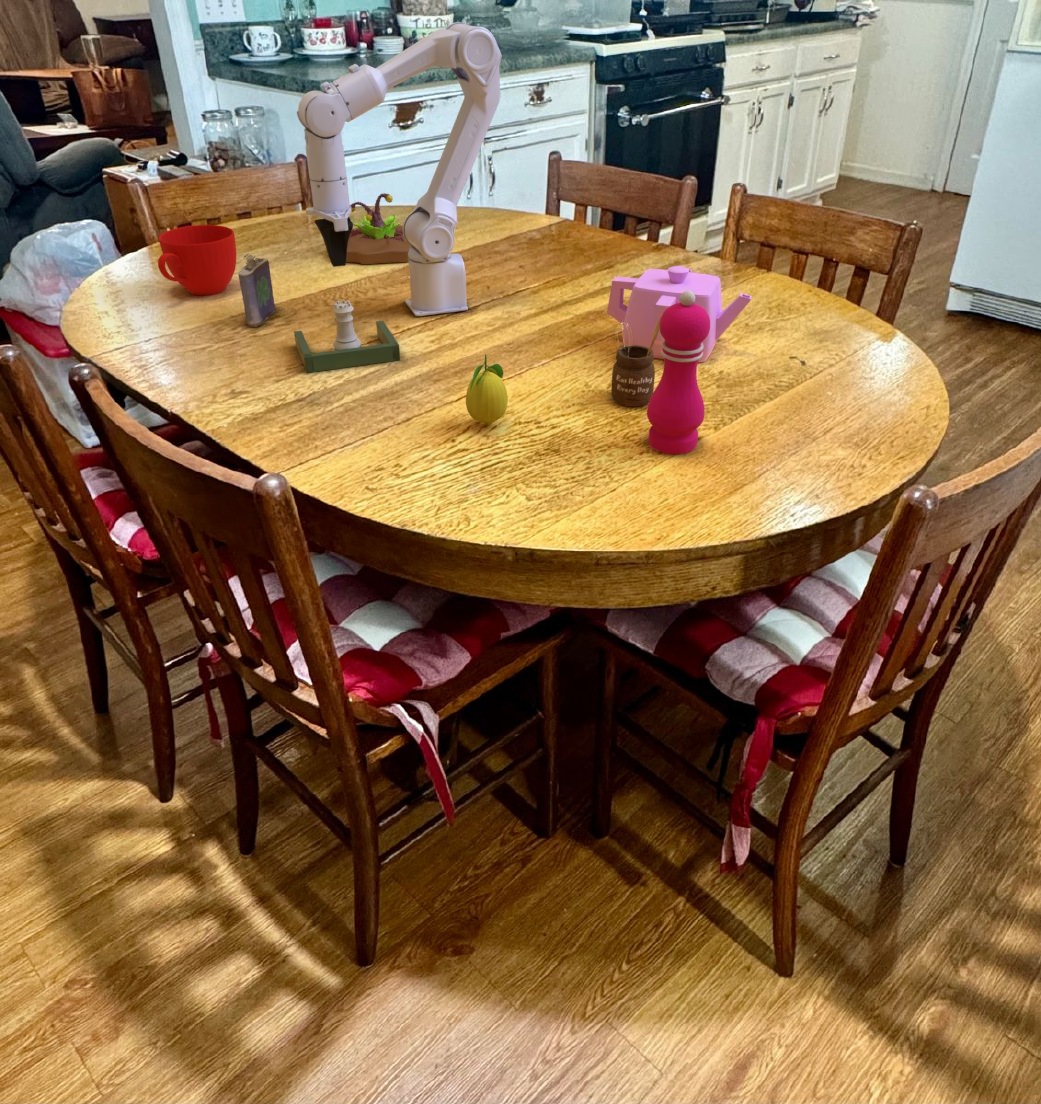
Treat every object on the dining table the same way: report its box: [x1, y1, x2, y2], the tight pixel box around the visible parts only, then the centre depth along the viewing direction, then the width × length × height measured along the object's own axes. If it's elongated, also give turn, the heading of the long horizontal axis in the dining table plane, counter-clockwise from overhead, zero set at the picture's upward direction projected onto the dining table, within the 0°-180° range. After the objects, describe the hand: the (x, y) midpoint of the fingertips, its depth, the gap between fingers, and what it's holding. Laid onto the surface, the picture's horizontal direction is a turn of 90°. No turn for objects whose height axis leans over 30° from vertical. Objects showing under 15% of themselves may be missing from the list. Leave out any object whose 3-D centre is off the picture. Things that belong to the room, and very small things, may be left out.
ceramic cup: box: [157, 224, 237, 296], centre depth 162 cm, size 13×17×10 cm
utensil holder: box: [610, 315, 662, 407], centre depth 124 cm, size 6×6×12 cm
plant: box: [346, 192, 410, 265], centre depth 183 cm, size 20×20×11 cm
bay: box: [293, 320, 401, 374], centre depth 141 cm, size 14×11×2 cm
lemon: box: [465, 353, 509, 426], centre depth 118 cm, size 7×6×10 cm
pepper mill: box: [646, 291, 710, 455], centre depth 111 cm, size 7×7×20 cm
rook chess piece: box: [331, 299, 362, 351], centre depth 139 cm, size 4×4×8 cm
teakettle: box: [606, 265, 753, 363], centre depth 140 cm, size 17×17×12 cm
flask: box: [238, 253, 277, 328], centre depth 151 cm, size 9×3×11 cm, turn 172°
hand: (338, 264), depth 148 cm, fingers closed
